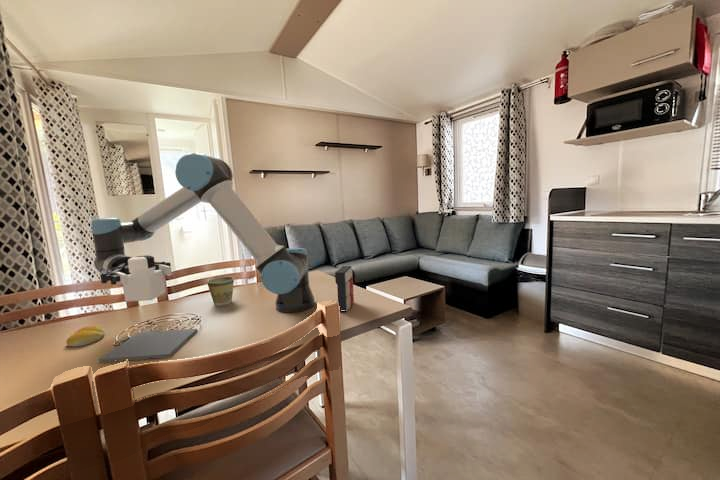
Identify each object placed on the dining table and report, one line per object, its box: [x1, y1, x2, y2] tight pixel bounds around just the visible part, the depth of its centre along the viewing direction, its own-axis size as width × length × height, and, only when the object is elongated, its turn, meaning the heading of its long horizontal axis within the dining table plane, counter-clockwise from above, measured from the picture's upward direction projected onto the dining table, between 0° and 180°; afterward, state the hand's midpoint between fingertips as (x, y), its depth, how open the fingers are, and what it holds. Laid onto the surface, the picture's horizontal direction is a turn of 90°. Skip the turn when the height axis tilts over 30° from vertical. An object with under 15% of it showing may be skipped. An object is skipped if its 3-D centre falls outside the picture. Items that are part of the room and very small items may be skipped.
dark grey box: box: [334, 265, 355, 311], centre depth 112 cm, size 11×4×15 cm, turn 168°
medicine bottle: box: [122, 254, 167, 303], centre depth 84 cm, size 7×7×12 cm
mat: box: [98, 328, 198, 363], centre depth 87 cm, size 18×16×1 cm
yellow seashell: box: [65, 325, 106, 348], centre depth 92 cm, size 8×9×4 cm
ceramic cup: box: [206, 276, 235, 307], centre depth 123 cm, size 13×10×10 cm
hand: (149, 275), depth 81 cm, fingers closed on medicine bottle, 10 cm apart
